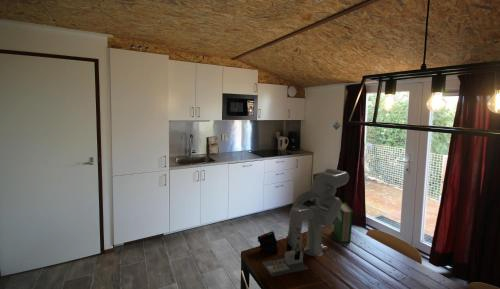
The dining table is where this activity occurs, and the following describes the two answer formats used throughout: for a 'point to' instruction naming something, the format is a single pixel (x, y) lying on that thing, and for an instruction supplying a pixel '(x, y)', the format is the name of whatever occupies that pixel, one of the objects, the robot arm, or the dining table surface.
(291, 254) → the plug
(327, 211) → the robot arm
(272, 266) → the board
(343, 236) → the hardback book
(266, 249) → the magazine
